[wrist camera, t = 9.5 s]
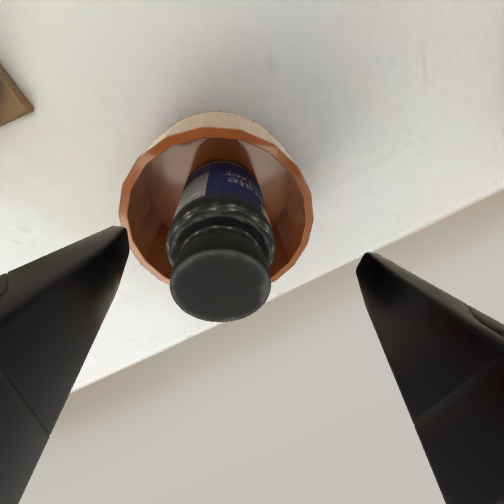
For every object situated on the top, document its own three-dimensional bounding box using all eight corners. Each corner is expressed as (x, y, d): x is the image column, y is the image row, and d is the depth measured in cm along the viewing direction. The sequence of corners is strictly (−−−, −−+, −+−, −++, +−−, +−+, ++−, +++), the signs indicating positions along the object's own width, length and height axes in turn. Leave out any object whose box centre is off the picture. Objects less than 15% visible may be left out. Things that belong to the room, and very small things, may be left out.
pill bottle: (274, 195, 21) (313, 288, 12) (224, 239, 23) (224, 346, 14) (220, 138, 18) (218, 205, 9) (168, 194, 20) (124, 294, 11)
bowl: (321, 182, 21) (350, 215, 16) (233, 270, 26) (235, 316, 21) (201, 67, 16) (192, 66, 11) (118, 204, 21) (86, 245, 16)
